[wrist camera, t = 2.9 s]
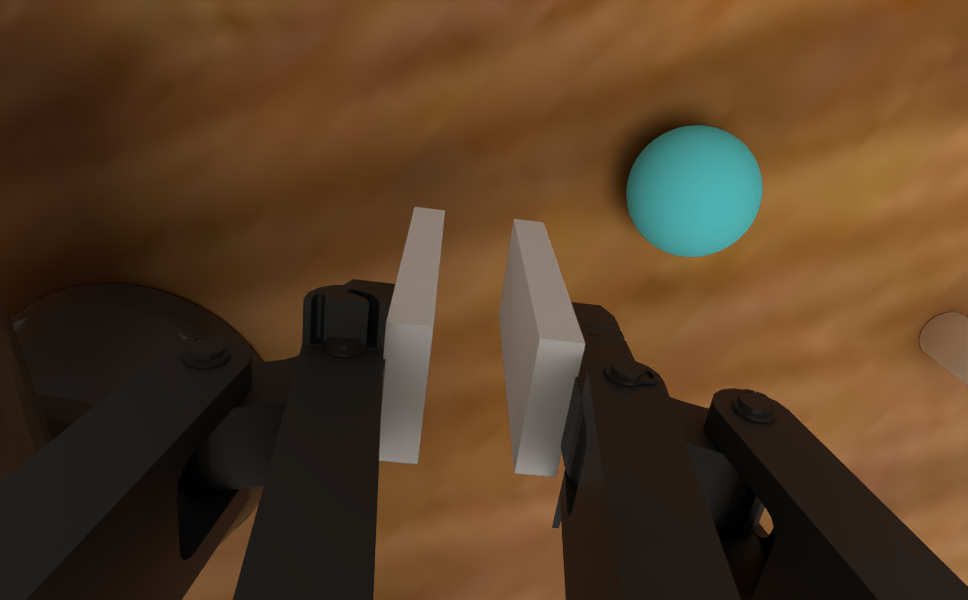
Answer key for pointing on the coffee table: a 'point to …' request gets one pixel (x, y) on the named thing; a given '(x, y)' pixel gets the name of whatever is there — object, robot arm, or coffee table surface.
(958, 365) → the post
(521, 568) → the coffee table surface
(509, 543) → the coffee table surface
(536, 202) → the coffee table surface
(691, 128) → the ball
